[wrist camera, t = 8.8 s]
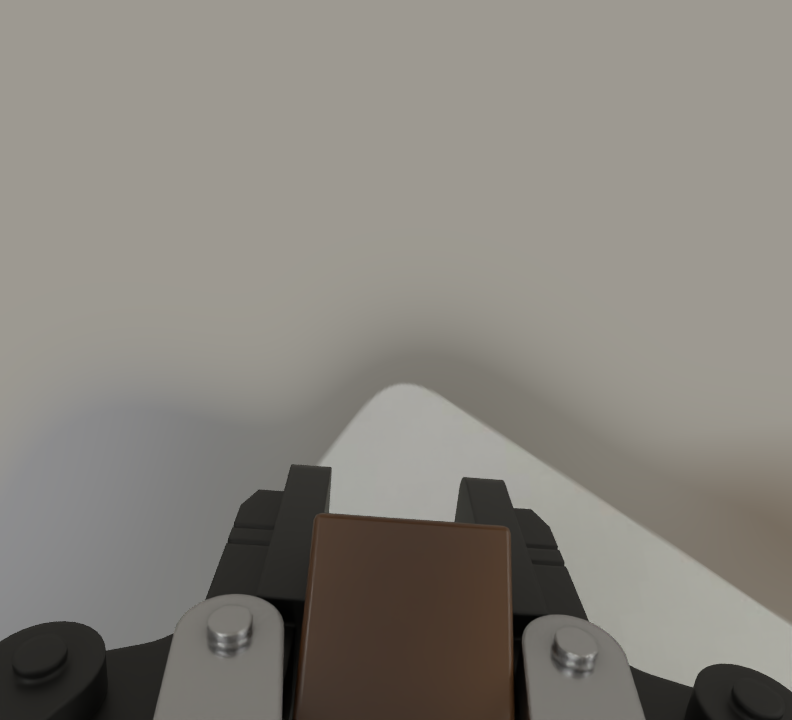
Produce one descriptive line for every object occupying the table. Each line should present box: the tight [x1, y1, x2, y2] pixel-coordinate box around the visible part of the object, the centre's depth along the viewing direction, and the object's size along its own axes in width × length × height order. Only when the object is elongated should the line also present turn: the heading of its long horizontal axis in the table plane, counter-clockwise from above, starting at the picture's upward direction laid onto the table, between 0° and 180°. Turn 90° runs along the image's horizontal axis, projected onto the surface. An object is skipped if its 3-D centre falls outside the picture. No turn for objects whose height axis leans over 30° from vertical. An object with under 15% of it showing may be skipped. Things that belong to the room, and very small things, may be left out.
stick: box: [292, 513, 515, 720], centre depth 13 cm, size 2×2×13 cm
